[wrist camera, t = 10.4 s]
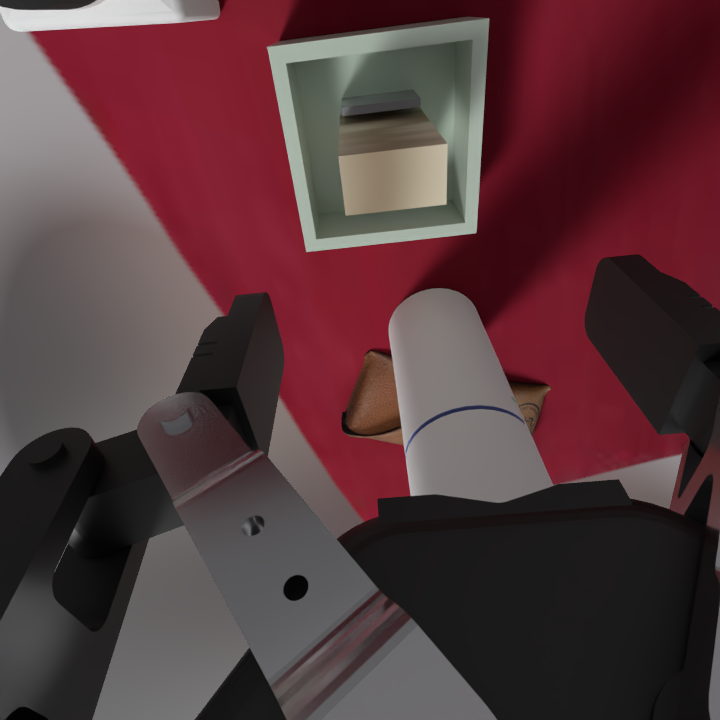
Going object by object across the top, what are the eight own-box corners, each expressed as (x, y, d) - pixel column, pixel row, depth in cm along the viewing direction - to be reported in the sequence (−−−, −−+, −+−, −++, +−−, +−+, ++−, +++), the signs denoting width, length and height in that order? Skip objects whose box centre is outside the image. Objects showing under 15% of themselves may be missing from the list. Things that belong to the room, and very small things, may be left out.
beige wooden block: (418, 105, 25) (447, 143, 18) (419, 152, 27) (446, 204, 20) (339, 115, 26) (338, 156, 18) (345, 161, 27) (345, 215, 20)
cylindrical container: (428, 271, 32) (558, 674, 13) (497, 318, 35) (691, 711, 16) (370, 337, 36) (401, 734, 16) (437, 375, 39) (532, 755, 19)
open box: (467, 16, 23) (489, 18, 20) (460, 206, 30) (476, 233, 26) (278, 41, 24) (267, 47, 20) (310, 222, 30) (306, 251, 26)
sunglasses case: (559, 383, 40) (564, 459, 37) (516, 403, 46) (518, 469, 43) (362, 346, 36) (353, 426, 34) (345, 373, 43) (337, 442, 40)
